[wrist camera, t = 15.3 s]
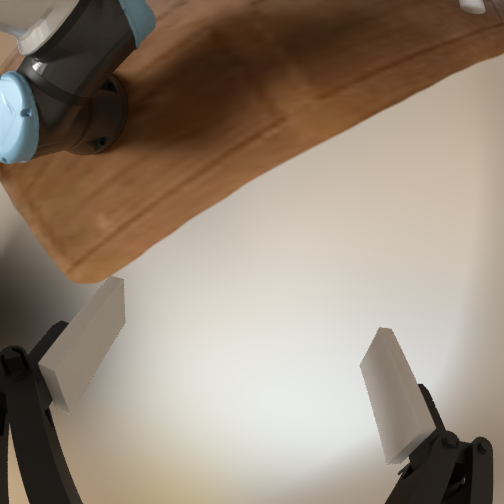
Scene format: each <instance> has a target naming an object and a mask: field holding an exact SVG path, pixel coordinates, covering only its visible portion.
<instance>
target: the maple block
mask: <svg viewBox="0 0 504 504" xmlns="http://www.w3.org/2000/svg"><path fill="white" fill-rule="evenodd" d="M459 3H460V8H461V9H462V10H463V11H465V12H467V13H472V14H482V13H485V6H484V2H483V0H459Z"/></svg>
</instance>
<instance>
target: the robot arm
mask: <svg viewBox="0 0 504 504" xmlns="http://www.w3.org/2000/svg"><path fill="white" fill-rule="evenodd" d="M155 24H156V17H155V15H154V13H153V11H152V10H151V9H150V7H149V6H148V5H147V3H146V2H145V1H144V0H0V31H1V32H3V33H6V34H9V35H12V36H14V37H16V38H17V42H18V47H19V52H20V53H21V54H22V55H24V56H26V57H25V58H24V60H23V61H22V63H21V65H20V66H19V68H18V69H17V71H16V72H15V71H9V72H7V73H4V74H3V75H2V76H0V162H3V163H8V164H10V163H16V162H27V161H29V160H31V159H34V158H37V157H41V156H44V155H48V154H52V153H55V152H59V151H63V150H65V151H68V152H70V153H73V154H77V155H90V154H95V153H98V152H101V151H103V150H105V149H107V148H108V147H109V146H111V145H112V144H113V143H114V142H115V141H116V139H117V138H118V137H119V135H120V134H121V132H122V130H123V128H124V125H125V122H126V118H127V112H128V102H127V96H126V93H125V90H124V88H123V86H122V85H121V83H120V82H119V81H118V80H117V79H116V78H115V77H113V76H112V75H111V74H112V73H113V72H114V71H115V70H116V69H117V68H118V67H119V65H120V64H121V63H122V62H123V61H124V60H125V59H126V58H127V57H128V56H129V55H130V54H131V53H132V52H133V51H134V50H136V49H138V47H139V45H140V43H141V42H142V41H143V40H144V39H145V38H146V37H147V36H148V35H149V34H150V33H151V32H152V31H153V29H154V28H155ZM124 324H125V304H124V279H121V278H117V277H113V276H110V277H109V278H108V279H107V280H106V281H105V283H104V284H103V285H102V286H101V287H100V288H99V289H98V290H97V292H96V293H95V294H94V295H93V296H92V297H91V298H90V300H89V301H88V302H87V303H86V304H85V306H84V307H83V308H82V309H81V311H79V313H78V314H77V315H76V316H75V318H74V319H73V320H72V321H71V322H70V323H67V322H64V321H60V322H58V323H56V324H55V325H53V326H52V327H51V328H50V329H49V330H48V331H47V333H46V335H44V336H43V338H42V339H41V340H40V341H39V342H38V343H37V345H36V346H35V347H34V348H33V350H32V351H31V352H30V353H29V354H28V355H27V353H26V351H25V350H24V349H23V348H22V347H20V346H9V347H6V348H4V349H3V350H2V351H1V352H0V504H9V497H8V463H7V461H8V435H9V422H10V428H11V434H12V439H13V444H14V448H15V453H16V458H17V462H18V465H19V470H20V473H21V477H22V481H23V484H24V488H25V491H26V494H27V497H28V500H29V503H30V504H83V503H82V501H81V498H80V496H79V494H78V492H77V489H76V487H75V485H74V482H73V479H72V477H71V474H70V472H69V469H68V466H67V464H66V461H65V458H64V455H63V452H62V449H61V446H60V443H59V440H58V437H57V433H56V430H55V426H54V423H53V419H52V415H51V411H50V409H49V405H50V404H51V402H52V400H53V403H54V405H55V407H56V409H58V410H60V411H63V412H65V413H68V414H70V415H72V413H73V411H74V409H75V407H76V406H77V404H78V402H79V400H80V398H81V397H82V395H83V393H84V391H85V389H86V388H87V386H88V384H89V382H90V380H91V379H92V377H93V375H94V374H95V372H96V370H97V369H98V367H99V365H100V363H101V362H102V360H103V358H104V357H105V355H106V353H107V352H108V350H109V348H110V347H111V345H112V343H113V342H114V340H115V338H116V337H117V335H118V334H119V332H120V330H121V329H122V327H123V326H124ZM360 368H361V371H362V374H363V378H364V381H365V385H366V388H367V391H368V395H369V398H370V402H371V405H372V409H373V412H374V416H375V420H376V423H377V427H378V431H379V435H380V439H381V442H382V447H383V451H384V455H385V459H386V463H387V465H389V464H398V463H402V462H403V461H404V460H405V459H406V458H407V457H408V456H409V460H410V463H409V464H407V465H406V466H405V467H404V468H403V469H402V470H400V471H399V473H398V475H400V474H401V473H402V472H403V473H402V475H401V477H400V479H399V480H398V482H397V484H396V486H395V487H394V489H393V491H392V492H391V494H390V496H389V497H388V499H387V501H386V503H385V504H492V501H493V449H492V445H491V443H490V442H489V441H488V440H487V439H486V438H484V437H477V438H476V439H474V441H472V442H471V443H466V442H461V441H459V438H458V437H457V436H456V435H455V434H454V433H453V432H450V431H446V429H445V427H444V425H443V422H442V420H441V418H440V415H439V413H438V411H437V409H436V408H435V404H434V401H432V400H433V399H432V397H431V395H430V393H429V391H428V390H427V389H426V387H425V386H424V385H423V384H417V382H416V379H415V377H414V375H413V373H412V371H411V369H410V366H409V364H408V362H407V360H406V358H405V356H404V354H403V352H402V349H401V347H400V345H399V343H398V341H397V339H396V337H395V335H394V333H393V331H392V329H388V328H379V329H378V331H377V333H376V335H375V337H374V339H373V341H372V343H371V345H370V347H369V349H368V351H367V353H366V354H365V356H364V358H363V360H362V362H361V364H360ZM464 478H465V483H464Z"/></svg>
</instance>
